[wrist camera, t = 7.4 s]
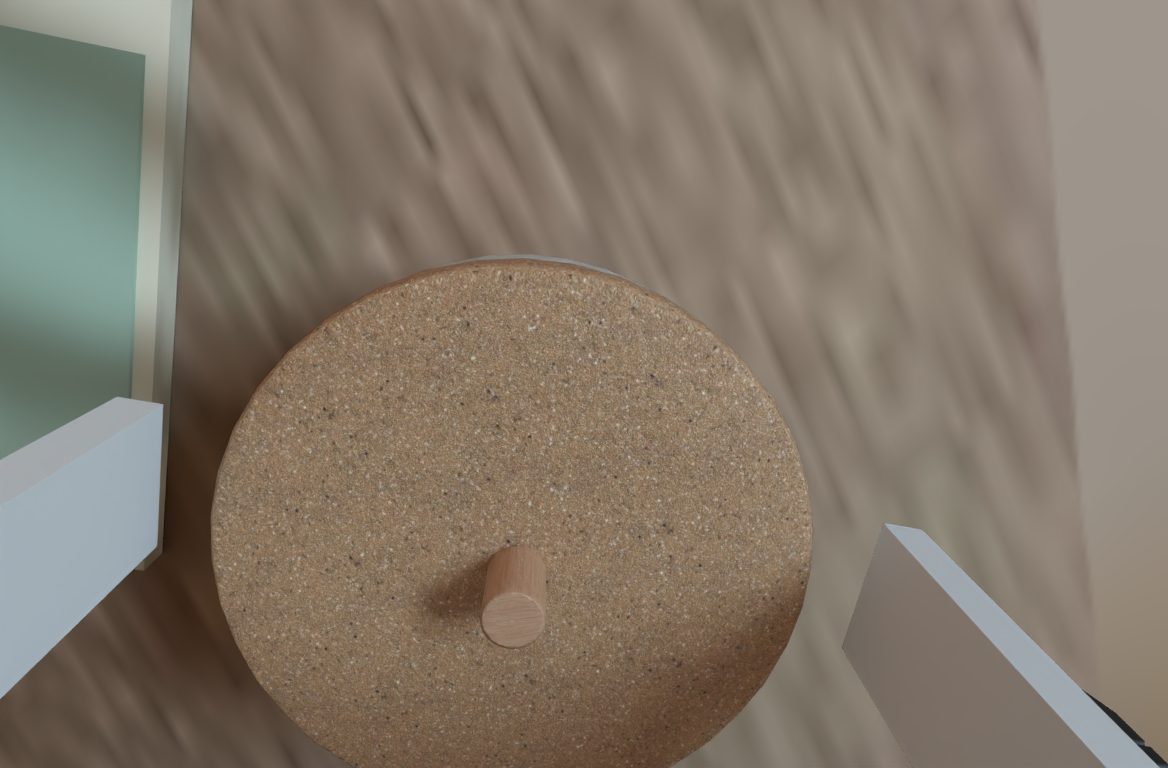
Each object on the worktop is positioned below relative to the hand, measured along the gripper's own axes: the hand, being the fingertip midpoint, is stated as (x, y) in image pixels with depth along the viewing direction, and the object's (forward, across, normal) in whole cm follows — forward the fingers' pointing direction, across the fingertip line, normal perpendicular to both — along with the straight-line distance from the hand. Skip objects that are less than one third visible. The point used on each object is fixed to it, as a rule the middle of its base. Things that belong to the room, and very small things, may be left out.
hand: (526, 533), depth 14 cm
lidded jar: (+7, 0, +1) cm, 7 cm away
